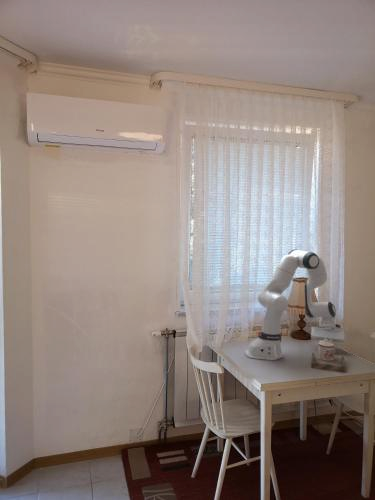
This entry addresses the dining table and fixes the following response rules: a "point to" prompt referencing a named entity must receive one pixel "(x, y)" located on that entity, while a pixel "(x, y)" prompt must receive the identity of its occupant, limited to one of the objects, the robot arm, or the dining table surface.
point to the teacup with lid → (326, 350)
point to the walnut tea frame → (328, 365)
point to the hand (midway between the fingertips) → (327, 346)
